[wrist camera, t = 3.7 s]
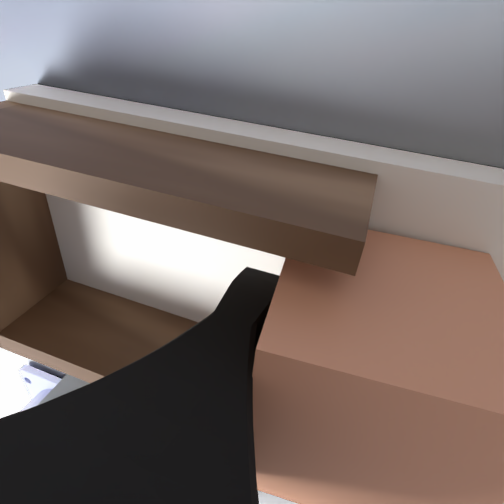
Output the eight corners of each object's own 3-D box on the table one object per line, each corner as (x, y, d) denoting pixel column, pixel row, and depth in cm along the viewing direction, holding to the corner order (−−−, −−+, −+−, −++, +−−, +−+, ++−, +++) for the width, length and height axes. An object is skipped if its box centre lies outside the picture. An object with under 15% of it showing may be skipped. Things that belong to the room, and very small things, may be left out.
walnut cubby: (319, 376, 13) (297, 466, 10) (59, 288, 15) (-11, 342, 13) (378, 174, 9) (365, 242, 6) (6, 100, 11) (-113, 126, 9)
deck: (512, 523, 15) (519, 558, 14) (101, 365, 20) (85, 383, 19) (855, 233, 7) (923, 266, 6) (35, 84, 12) (3, 89, 11)
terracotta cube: (422, 374, 11) (449, 552, 8) (277, 337, 12) (237, 483, 8) (490, 253, 9) (580, 434, 5) (299, 215, 9) (255, 348, 6)
